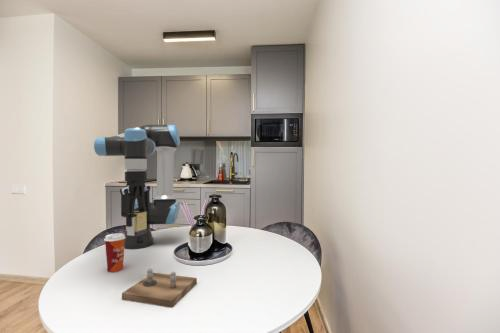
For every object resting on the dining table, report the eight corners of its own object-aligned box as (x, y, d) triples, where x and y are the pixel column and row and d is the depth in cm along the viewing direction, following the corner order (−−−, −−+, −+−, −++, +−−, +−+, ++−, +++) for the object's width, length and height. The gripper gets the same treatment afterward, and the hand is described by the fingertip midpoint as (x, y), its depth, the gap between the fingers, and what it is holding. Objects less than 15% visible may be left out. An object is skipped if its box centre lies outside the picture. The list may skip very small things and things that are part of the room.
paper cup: (117, 274, 102) (116, 238, 102) (100, 272, 104) (99, 237, 104) (130, 266, 110) (129, 233, 110) (114, 265, 111) (113, 232, 111)
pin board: (153, 277, 99) (153, 259, 98) (196, 283, 94) (196, 264, 94) (121, 299, 83) (121, 277, 83) (171, 307, 78) (171, 284, 78)
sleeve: (135, 231, 100) (135, 211, 100) (146, 232, 99) (146, 211, 99) (126, 235, 96) (125, 213, 96) (137, 236, 94) (137, 213, 94)
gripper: (143, 170, 107) (144, 227, 107) (108, 171, 90) (108, 239, 90) (159, 170, 105) (160, 228, 105) (126, 171, 87) (127, 240, 88)
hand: (136, 233), depth 97 cm, fingers closed on sleeve, 5 cm apart
